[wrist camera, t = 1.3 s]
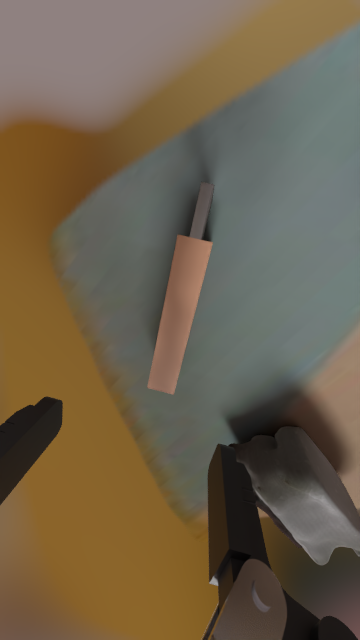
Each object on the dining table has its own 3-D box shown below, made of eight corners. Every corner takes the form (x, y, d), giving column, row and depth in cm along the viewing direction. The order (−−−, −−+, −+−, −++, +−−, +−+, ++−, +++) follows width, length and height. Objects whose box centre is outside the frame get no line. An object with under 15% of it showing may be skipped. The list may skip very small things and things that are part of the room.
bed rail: (221, 203, 20) (227, 187, 15) (179, 369, 27) (173, 394, 22) (192, 196, 20) (188, 179, 15) (157, 363, 27) (147, 387, 22)
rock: (213, 436, 30) (216, 498, 22) (282, 402, 26) (312, 461, 19) (280, 507, 33) (302, 581, 26) (348, 484, 30) (396, 562, 22)
